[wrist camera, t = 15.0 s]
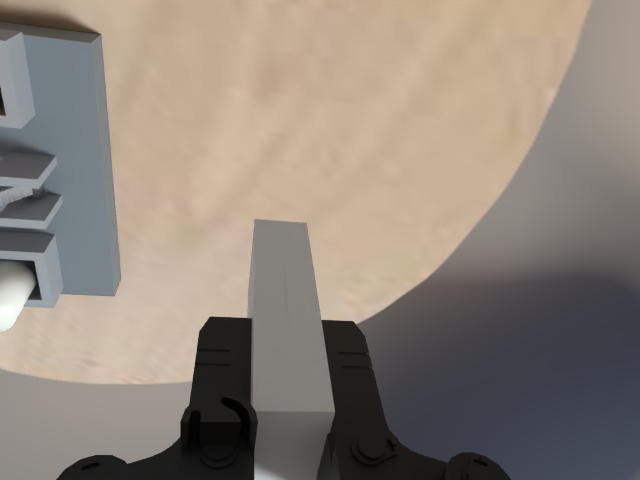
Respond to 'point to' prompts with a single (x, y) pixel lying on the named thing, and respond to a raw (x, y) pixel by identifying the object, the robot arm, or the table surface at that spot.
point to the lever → (20, 193)
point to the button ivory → (13, 290)
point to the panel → (57, 162)
